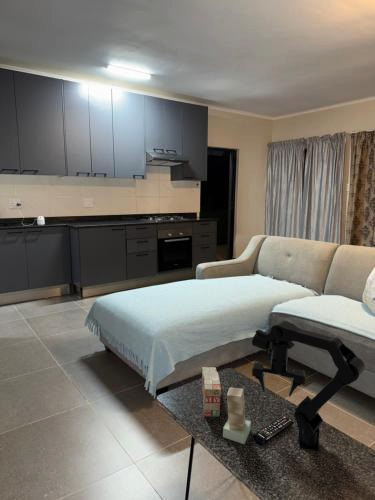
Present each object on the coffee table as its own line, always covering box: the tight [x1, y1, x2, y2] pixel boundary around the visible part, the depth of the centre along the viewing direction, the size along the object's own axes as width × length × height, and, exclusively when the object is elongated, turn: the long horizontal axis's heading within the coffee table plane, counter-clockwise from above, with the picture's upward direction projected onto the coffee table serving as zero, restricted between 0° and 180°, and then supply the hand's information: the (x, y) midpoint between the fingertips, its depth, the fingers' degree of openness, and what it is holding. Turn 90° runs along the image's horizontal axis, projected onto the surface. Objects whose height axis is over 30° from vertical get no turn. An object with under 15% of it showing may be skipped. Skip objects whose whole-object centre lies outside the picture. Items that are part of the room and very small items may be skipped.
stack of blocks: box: [201, 366, 222, 418], centre depth 144 cm, size 21×6×12 cm, turn 0°
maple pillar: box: [226, 387, 247, 430], centre depth 124 cm, size 5×5×13 cm
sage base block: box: [222, 417, 252, 445], centre depth 126 cm, size 8×8×4 cm
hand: (276, 393), depth 129 cm, fingers open, 9 cm apart
